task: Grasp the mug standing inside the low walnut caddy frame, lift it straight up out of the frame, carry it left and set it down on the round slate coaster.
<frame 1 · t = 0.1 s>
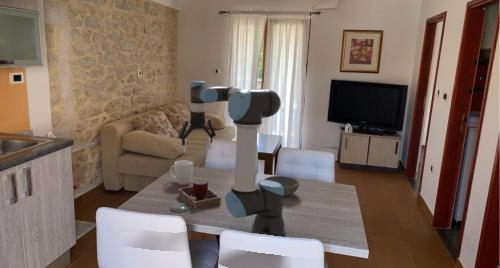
hand: (197, 150, 192), 28 cm above the table, fingers open, 13 cm apart
coaster: (180, 208, 185), on the table
bowl: (280, 194, 209), on the table
caddy: (199, 199, 196), on the table
mug 2: (182, 183, 221), on the table
mug: (199, 200, 196), resting in caddy
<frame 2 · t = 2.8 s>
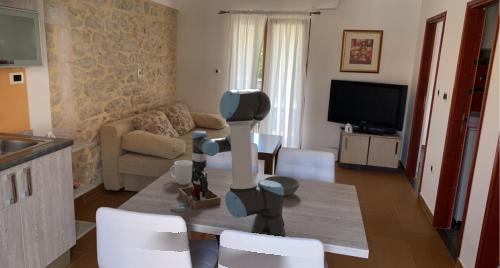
hand: (199, 199, 196), 0 cm above the table, fingers open, 9 cm apart
mug: (199, 200, 196), resting in caddy, touching gripper
everything else where it was.
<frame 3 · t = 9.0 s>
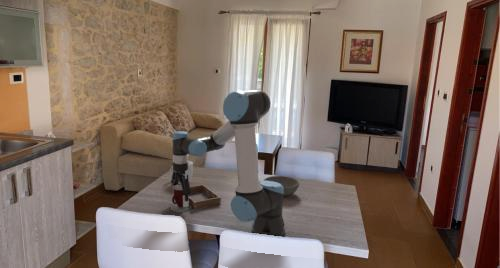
hand: (180, 201, 184), 3 cm above the table, fingers open, 13 cm apart
mug: (180, 206, 185), resting on coaster
everything else where it was.
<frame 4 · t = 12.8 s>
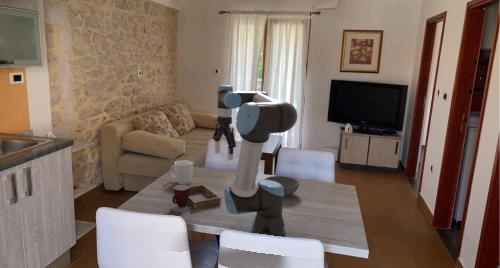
hand: (223, 156, 185), 27 cm above the table, fingers open, 13 cm apart
nothing on the table moved.
at the end: mug inside the target area on the coaster (0.7 cm from its centre), point 0.4 cm above the coaster's base; mug tilted 0°; mug touching coaster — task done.
